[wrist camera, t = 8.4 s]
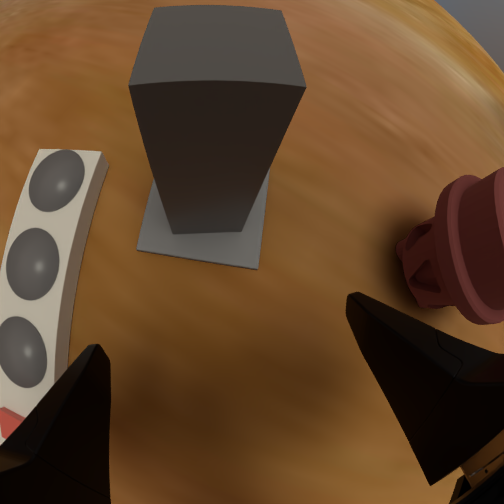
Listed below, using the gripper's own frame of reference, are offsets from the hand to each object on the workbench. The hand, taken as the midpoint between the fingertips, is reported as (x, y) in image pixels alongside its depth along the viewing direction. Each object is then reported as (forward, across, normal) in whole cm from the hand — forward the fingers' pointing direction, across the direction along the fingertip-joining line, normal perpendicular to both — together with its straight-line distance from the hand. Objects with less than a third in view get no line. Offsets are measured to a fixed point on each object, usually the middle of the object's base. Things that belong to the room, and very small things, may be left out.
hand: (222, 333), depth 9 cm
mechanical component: (+8, -16, +7) cm, 19 cm away
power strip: (+7, +14, +3) cm, 16 cm away
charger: (+12, 0, -1) cm, 12 cm away
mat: (+12, 0, -1) cm, 12 cm away
